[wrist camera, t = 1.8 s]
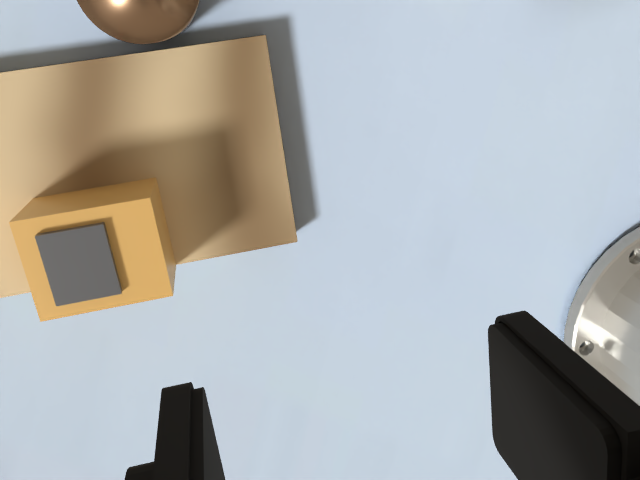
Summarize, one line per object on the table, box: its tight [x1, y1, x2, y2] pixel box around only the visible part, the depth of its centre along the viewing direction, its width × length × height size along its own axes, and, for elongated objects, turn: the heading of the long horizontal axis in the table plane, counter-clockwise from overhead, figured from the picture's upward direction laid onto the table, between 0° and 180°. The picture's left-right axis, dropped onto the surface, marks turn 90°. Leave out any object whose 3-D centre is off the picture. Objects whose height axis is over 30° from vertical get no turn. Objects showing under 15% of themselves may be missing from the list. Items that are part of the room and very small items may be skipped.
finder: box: [9, 177, 176, 322], centre depth 24 cm, size 5×4×4 cm
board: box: [0, 35, 297, 298], centre depth 26 cm, size 22×9×1 cm, turn 98°
